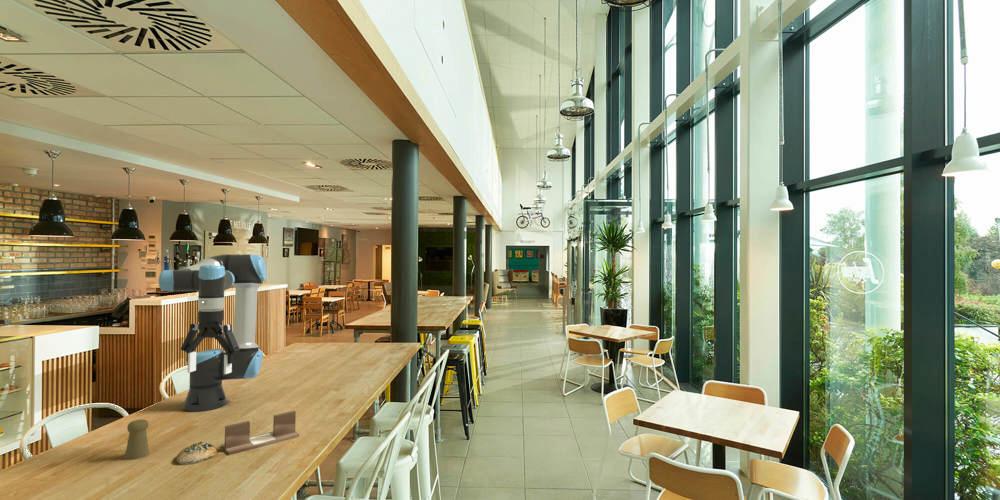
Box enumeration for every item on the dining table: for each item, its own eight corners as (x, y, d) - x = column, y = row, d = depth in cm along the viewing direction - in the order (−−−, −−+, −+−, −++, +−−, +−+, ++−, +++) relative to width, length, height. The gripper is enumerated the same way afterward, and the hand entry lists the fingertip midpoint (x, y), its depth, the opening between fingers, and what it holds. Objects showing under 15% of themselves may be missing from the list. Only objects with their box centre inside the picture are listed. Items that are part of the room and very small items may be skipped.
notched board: (221, 446, 151) (222, 423, 151) (289, 429, 166) (290, 408, 166) (228, 455, 144) (229, 430, 145) (299, 436, 160) (299, 414, 160)
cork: (153, 453, 145) (154, 418, 146) (133, 460, 140) (134, 425, 140) (140, 450, 147) (141, 416, 148) (120, 457, 142) (121, 422, 142)
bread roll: (191, 449, 149) (193, 434, 149) (224, 454, 148) (226, 439, 148) (165, 465, 138) (167, 449, 137) (200, 471, 137) (202, 455, 137)
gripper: (169, 310, 153) (167, 373, 152) (236, 312, 149) (235, 376, 149) (187, 308, 160) (185, 368, 160) (251, 309, 157) (250, 371, 156)
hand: (209, 372), depth 154 cm, fingers open, 13 cm apart
